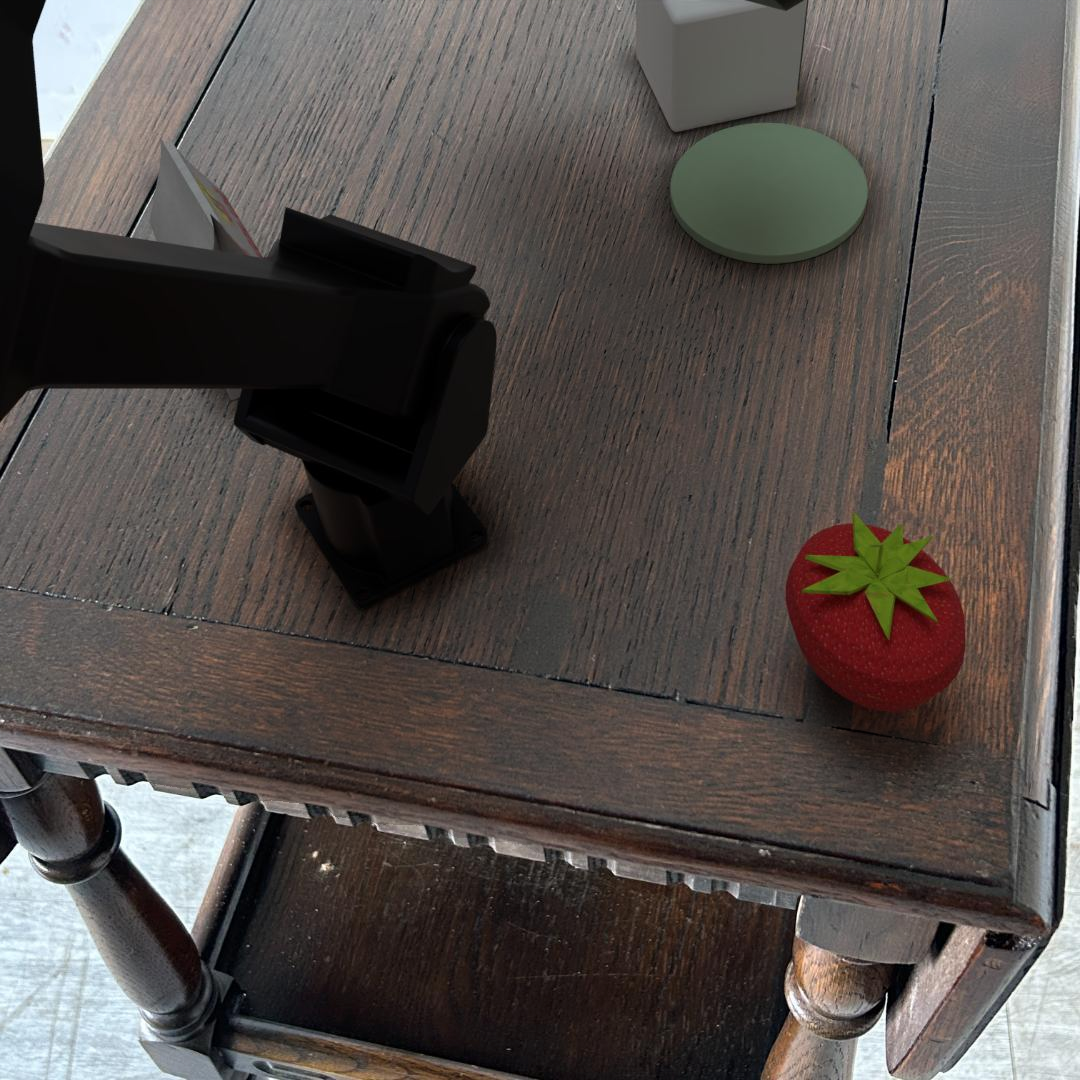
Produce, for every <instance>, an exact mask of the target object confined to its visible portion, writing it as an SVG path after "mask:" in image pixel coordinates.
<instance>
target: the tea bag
mask: <svg viewBox="0 0 1080 1080" xmlns="http://www.w3.org/2000/svg"><path fill="white" fill-rule="evenodd" d="M167 138H168V143H167V142H166V141H165V140H164V139H163V138H161V137H159V142H160V143H159V144H160V158H159V168H158V175H157V180H156V185H155V190H154V196H153V201H152V205H151V211H150V216H149V221H148V223H149V225H150V228H151V229H152V232H153V235H154V238H155V241H157V242H164V243H170V244H177V245H183V246H190V247H196V248H202V249H209V250H215V251H222V252H228V253H235V254H241V255H247V256H254V257H264V256H263V255H262V253H261V251H260V250H259V248H258V246H257V245H256V243H255V242H254V240H253V238H252V237H251V234H250V233H249V232H248V229H247V228H246V227H245V225H244V223H243V222H242V220H241V219H240V217H239V215H238V214H237V212H236V211H235V209H234V208H233V207H234V206H232V204H231V203H230V200H229V199H228V197H227V196H226V194H225V193H224V192H223V190H221V189H220V188H219V187H218V186H217V185H216V184H215V183H213V182H212V180H210V179H209V178H208V177H207V176H205V175H204V174H203V173H202V172H201V171H200V170H199V169H198V168H196V167H195V166H194V165H193V164H192V163H191V162H190V161H189V160H188V159H187V158H186V157H185V156H184V154H183V153H182V152H181V151H180V150H179V149H178V148H177V147H176V145H175V144H174V143H173V141H172V139H171V138H170V136H169V135H167ZM225 391H226V393H227V395H228V396H229V398H230V400H231V401H235V400H237V399H239V398H240V394H241V391H242V389H225Z"/></svg>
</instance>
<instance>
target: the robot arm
mask: <svg viewBox="0 0 1080 1080" xmlns="http://www.w3.org/2000/svg"><path fill="white" fill-rule="evenodd" d="M746 1H750V2H753V3H757V4H761V5H765V6H769V7H772V8H776V9H780V10H784V11H787V10H789V9H791V8H792V7H794V6H796V5H797V4H799V3H801V2H802V1H804V0H746ZM46 2H47V0H0V423H1V422H2V421H3V420H5V418H6V417H7V416H8V414H10V412H11V411H12V410H13V409H14V407H15V406H16V405H17V404H18V403H19V402H20V401H21V399H22V398H23V397H24V396H25V394H26V393H27V392H31V391H35V390H44V389H45V390H47V389H49V390H51V389H52V390H53V389H55V390H56V389H57V390H62V389H63V390H73V389H74V390H75V389H76V390H78V389H80V390H82V389H83V390H84V389H85V390H97V389H99V390H105V389H106V390H115V389H116V390H118V389H119V390H128V389H129V390H140V389H141V390H151V389H152V390H175V389H177V390H187V389H189V390H219V389H220V390H222V389H223V390H226V389H242V391H241V394H240V398H238V402H237V406H236V410H235V413H234V417H233V425H234V426H235V428H237V430H239V431H240V432H241V433H242V434H244V435H245V437H247V438H248V439H249V440H250V441H252V442H254V443H256V444H259V445H261V446H268V447H271V448H273V449H276V450H278V451H281V452H283V453H285V454H287V455H290V456H292V457H295V458H296V459H300V460H301V462H302V465H303V469H304V471H305V475H306V478H307V480H308V481H307V482H308V484H309V486H310V490H311V492H309V493H307V494H306V495H305V494H304V495H303V496H301V497H300V498H298V499H297V500H296V501H295V504H294V508H295V511H296V514H297V517H298V519H300V521H301V523H302V524H303V526H304V527H305V530H306V531H307V533H308V534H309V536H310V538H311V539H312V541H313V542H314V544H315V546H316V547H317V549H318V550H319V552H320V554H321V555H322V557H323V558H324V560H325V562H326V563H327V565H328V566H329V567H330V570H331V571H332V573H333V574H334V575H335V577H336V579H337V581H338V582H339V584H340V585H341V587H342V589H343V590H344V592H345V593H346V595H347V597H348V598H349V600H350V601H351V603H352V605H353V606H354V607H355V608H358V609H361V610H362V609H368V608H371V607H372V606H374V605H376V604H378V603H380V602H382V601H384V600H386V599H387V598H390V597H391V596H394V595H395V594H397V593H399V592H401V591H403V590H405V589H407V588H409V587H411V586H413V585H415V584H417V583H419V582H420V581H422V580H425V579H426V578H428V577H430V576H432V575H434V574H435V573H437V572H439V571H442V570H443V569H445V568H448V567H449V566H451V565H453V564H455V563H457V562H459V561H461V560H463V559H464V558H466V557H468V556H471V555H472V554H475V553H476V552H478V551H480V550H482V549H483V548H485V547H487V545H488V544H489V540H490V539H489V532H488V530H487V529H486V527H485V525H484V524H483V523H482V521H481V519H480V518H479V517H478V516H477V514H476V513H475V512H474V510H473V509H472V508H471V506H470V505H469V503H468V502H467V501H466V499H465V498H464V496H463V495H462V493H461V492H460V491H459V489H458V488H457V487H456V485H455V484H454V481H455V480H456V479H457V477H458V476H459V474H460V473H461V472H462V470H463V469H464V467H466V464H467V463H468V461H469V460H470V459H471V457H472V456H473V455H474V453H475V452H476V450H477V449H478V448H479V446H480V445H481V443H482V442H483V440H485V438H486V436H487V434H488V430H489V421H490V411H491V403H492V395H493V394H492V393H493V386H494V385H493V384H494V375H495V364H496V356H497V346H498V345H497V344H498V335H497V329H496V326H495V325H494V323H492V322H491V321H490V320H487V319H485V315H486V313H487V312H488V311H489V309H490V307H491V301H490V298H489V296H488V294H487V293H486V291H485V289H484V288H482V287H480V286H478V285H477V284H475V283H473V282H471V281H472V279H473V278H474V276H475V274H476V272H477V266H476V265H475V264H472V263H470V262H467V261H463V260H461V259H458V258H455V257H453V256H449V255H447V254H444V253H441V252H438V251H437V250H433V249H429V248H427V247H424V246H421V245H419V244H415V243H413V242H411V241H407V240H405V239H401V238H398V237H396V236H393V235H390V234H387V233H385V232H382V231H379V230H376V229H374V228H370V227H367V226H365V225H362V224H359V223H356V222H354V221H351V220H348V219H345V218H342V217H340V216H337V215H333V214H331V213H330V214H328V215H325V216H323V217H322V218H319V217H316V216H313V215H311V214H307V213H305V212H302V211H299V210H296V209H294V208H290V207H288V206H285V209H284V212H283V218H282V223H281V224H282V225H281V230H280V236H279V239H277V240H275V241H274V242H273V244H272V245H271V248H270V249H269V252H268V254H267V256H263V257H254V256H247V255H241V254H235V253H228V252H222V251H215V250H209V249H202V248H196V247H190V246H183V245H177V244H170V243H164V242H157V241H156V240H151V239H144V238H138V237H131V236H124V235H118V234H112V233H105V232H99V231H92V230H87V229H86V230H85V229H79V228H73V227H68V226H67V227H66V226H60V225H54V224H47V223H40V222H36V219H37V217H38V214H39V212H40V209H41V206H42V203H43V199H44V192H45V191H44V190H45V186H46V185H45V184H46V180H45V167H44V158H43V157H44V156H43V155H44V154H43V143H42V133H41V132H42V131H41V121H40V109H39V98H38V87H37V73H36V64H35V63H36V62H35V52H34V35H35V32H36V29H37V27H38V24H39V22H40V19H41V16H42V13H43V11H44V8H45V6H46ZM306 507H309V508H307V509H304V508H306ZM475 536H480V538H478V539H475V538H474V537H475ZM363 594H366V597H364V598H360V596H361V595H363Z"/></svg>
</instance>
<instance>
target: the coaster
mask: <svg viewBox="0 0 1080 1080" xmlns="http://www.w3.org/2000/svg"><path fill="white" fill-rule="evenodd" d="M868 197H869V187H868V181H867V178H866V175H865V172H864V170H863V168H862V166H861V164H860V163H859V161H858V160H857V159H856V157H855V156H854V155H853V154H852V153H851V152H850V151H849V150H848V149H847V148H845V146H843V145H842V144H840V143H839V142H838V141H836V140H834V139H832V138H831V137H829V136H827V135H825V134H823V133H821V132H818V131H816V130H814V129H813V130H812V129H809V128H806V127H803V126H799V125H794V124H788V123H782V122H781V123H780V122H754V123H744V124H739V125H734V126H730V127H727V128H723V129H721V130H718V131H715V132H713V133H710V134H709V135H707V136H705V137H703V138H702V139H700V140H698V141H697V142H695V143H694V144H693V145H692V146H691V147H689V148H688V149H687V150H686V151H685V152H684V153H683V155H682V156H680V158H679V159H678V161H677V163H676V165H675V166H674V169H673V170H672V174H671V177H670V183H669V201H670V205H671V210H672V213H673V215H674V218H675V219H676V221H677V223H678V224H679V225H680V227H681V228H682V229H683V231H685V233H686V234H687V235H688V236H690V237H691V238H692V239H693V240H694V241H696V242H697V243H698V244H700V245H701V246H702V247H704V248H706V249H708V250H710V251H712V252H714V253H715V254H716V253H717V254H719V255H722V256H724V257H726V258H730V259H734V260H737V261H741V262H746V263H752V264H753V263H754V264H766V265H767V264H769V265H770V264H771V265H772V264H773V265H774V264H775V265H776V264H777V265H778V264H789V263H794V262H800V261H805V260H808V259H812V258H814V257H818V256H820V255H823V254H825V253H827V252H829V251H831V250H833V249H835V248H837V247H838V246H839V245H841V244H842V243H844V241H846V240H847V239H848V238H849V237H850V236H851V235H852V234H854V232H855V231H856V229H857V228H858V227H859V225H860V224H861V222H862V219H863V217H864V215H865V213H866V208H867V203H868Z"/></svg>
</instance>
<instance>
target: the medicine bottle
mask: <svg viewBox="0 0 1080 1080" xmlns="http://www.w3.org/2000/svg"><path fill="white" fill-rule="evenodd" d="M808 11H809V0H804V1H802V2H801V3H799V4H797V5H796V6H794V7H792V8H791V9H789V10H787V11H784V10H780V9H776V8H772V7H769V6H765V5H761V4H757V3H753V2H750V1H746V0H635V42H636V43H635V56H636V59H637V61H638V63H639V65H640V67H641V69H642V71H643V73H644V76H645V78H646V80H647V82H648V84H649V86H650V88H651V91H652V92H653V94H654V96H655V98H656V101H657V103H658V105H659V107H660V109H661V111H662V114H663V116H664V118H665V120H666V122H667V124H668V126H669V127H670V130H671V131H672V132H675V133H678V132H683V131H688V130H692V129H696V128H697V129H698V128H702V127H707V126H711V125H716V124H721V123H725V122H726V123H727V122H731V121H735V120H740V119H744V118H749V117H754V116H758V115H763V114H768V113H773V112H777V111H782V110H786V109H787V110H788V109H792V108H794V107H796V105H797V103H798V98H799V88H800V80H801V71H802V61H803V53H804V45H805V44H804V43H805V35H806V28H807V17H808Z"/></svg>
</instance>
